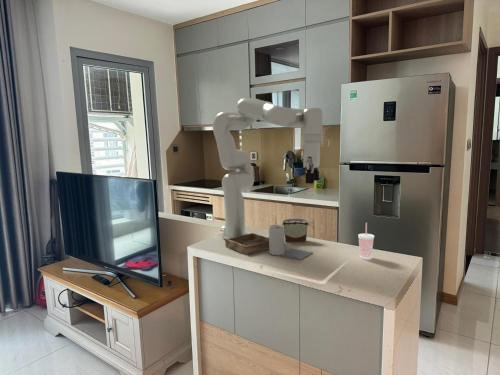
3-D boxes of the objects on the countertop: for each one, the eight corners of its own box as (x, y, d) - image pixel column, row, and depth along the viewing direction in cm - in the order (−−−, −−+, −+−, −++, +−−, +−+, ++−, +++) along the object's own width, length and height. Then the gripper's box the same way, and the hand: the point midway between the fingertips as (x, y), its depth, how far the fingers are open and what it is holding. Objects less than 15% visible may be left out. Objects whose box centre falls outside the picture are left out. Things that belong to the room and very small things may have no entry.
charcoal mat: (279, 255, 145) (279, 254, 145) (291, 249, 153) (291, 248, 153) (301, 260, 140) (301, 259, 140) (312, 253, 148) (312, 252, 148)
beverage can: (273, 257, 144) (273, 228, 143) (266, 253, 150) (266, 225, 149) (287, 255, 147) (287, 226, 145) (280, 250, 153) (279, 223, 151)
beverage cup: (362, 254, 145) (362, 220, 143) (376, 257, 141) (377, 222, 139) (354, 257, 141) (355, 223, 139) (369, 261, 137) (369, 225, 135)
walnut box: (225, 246, 160) (225, 239, 159) (252, 240, 169) (252, 233, 169) (246, 255, 147) (246, 246, 147) (274, 247, 157) (274, 239, 156)
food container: (308, 238, 169) (308, 218, 168) (309, 242, 163) (309, 221, 162) (282, 238, 170) (282, 218, 169) (282, 242, 164) (281, 221, 163)
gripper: (308, 139, 152) (308, 179, 154) (297, 139, 136) (297, 184, 139) (326, 139, 149) (325, 179, 151) (317, 139, 133) (317, 184, 136)
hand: (312, 181), depth 145 cm, fingers open, 9 cm apart
